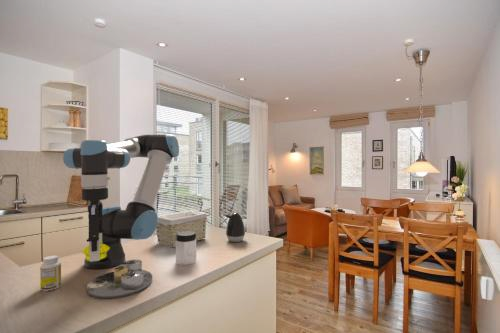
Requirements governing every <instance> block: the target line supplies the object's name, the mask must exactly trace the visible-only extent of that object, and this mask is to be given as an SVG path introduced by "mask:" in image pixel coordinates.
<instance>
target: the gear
mask: <svg viewBox="0 0 500 333" xmlns="http://www.w3.org/2000/svg"><path fill="white" fill-rule="evenodd" d="M109 249H110V247H109V246H107V245H105V244H100V259H103V258H105V257H106V256H107V251H108V250H109ZM81 253H82V254H83V255H85V256H84V257H85V258H84V260H85V259H86V260H88V261H90V246H89V245H87V246H86V247H85V248H84V249H83V250H82V251H81Z"/></svg>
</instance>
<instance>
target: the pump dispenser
mask: <svg viewBox="0 0 500 333" xmlns="http://www.w3.org/2000/svg"><path fill="white" fill-rule="evenodd" d="M225 217H226V218H228V221H227V224H226V229H225V230H226V231H225V234H226V237H227V238H226V239H228V241H230V243H231V242H232V243H239V242H242V241H243V239H245V235H246V229H245V224H244V221H243V218H242V216H241V214H240V213H238V212H233V213H232V214H231V215H229V214H226V215H225Z"/></svg>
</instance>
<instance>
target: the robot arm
mask: <svg viewBox="0 0 500 333" xmlns="http://www.w3.org/2000/svg"><path fill="white" fill-rule="evenodd" d="M179 154H180V146H179V141H178V139H177V137H176V135H174V134H173V133H172V134H168V133H165V134H142V135H138V136H133V137H129V138H125V139H124V140H123V141H117V142H112V143H107V141H106V140H101V139H100V140H99V139H97V140H96V139H91V140H90V139H88V140H85V139H84V140H83V141H81V144H80V147H73V148H68V149H66V150H65V151H64V152H63V155H62V158H63V159H62V161H63V163H64V165H65V166H66V167H67V168H69V169H76V170H79V169H81V175H80V186H81V187H82V189H81V200H83V201H85V202H87V201H88V202H89V205H88V206H87V212H88V216H87V217H88V238H87V239H86V242H89V245H88V246H90V261H88V260H86V259H85V258H84V264H83V265H84V268H86V269H90V270H102V269H108V268H112V267H116V266H117V267H118V266H120V265H122V263H123V262H125V261H126V253H125V250H124V248H123V246H122V240H126V239H127V240H137V241H140V240H146V239H149V238H150V237H152V235H153V234H154V233H155V232H156V227H157V223H158V222H157V220H158V216H157V215H158V214H157V212H156V208H155V206H154V205H155V202H156V199H157V197H158V192H159V190H160V187H161V183H162V180H163V177H164V174H165V171H166V168H167V166H168V165H169V164H171V163H172V161H173V158H174V159H175V158H178V156H179ZM131 158H132V159H133V158H147V159H148V160H147V163H146V165H145V169H144V170H143V171H144V172H143V173H142V177H141V179H140V182H139V184H138V187H137V190H136V192H135V195H134V197H133V200H132V201H129V202H127V205H126V207H125V209H122V208H121V206H120V205H113V206H106V207H104V205H103V203H102V201H104V200H107V199H108V198H109V188H108V184H109V183H108V181H109V180H110V179H111V178H110V177H109V175H108V174H109V172H108V171H109V169H118V170H119V169H123V168H125V167H127V166H128V165H129V164H130V163H131V162H130V161H131ZM100 244H105V245H107V246H109V247H110V249H109V250H108V251H107V256H106V257H105V258H103V259H100Z"/></svg>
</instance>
